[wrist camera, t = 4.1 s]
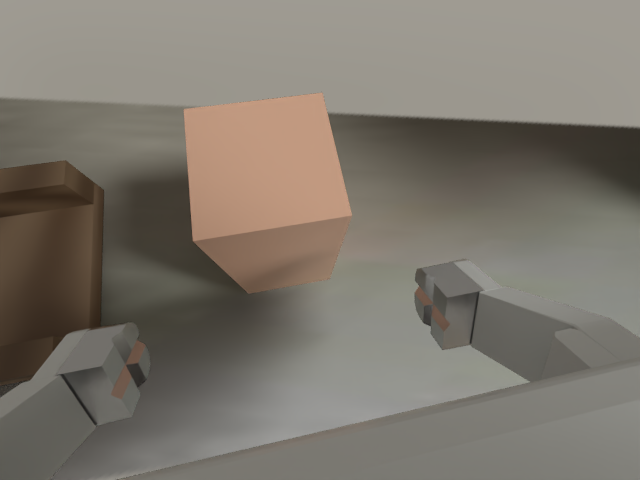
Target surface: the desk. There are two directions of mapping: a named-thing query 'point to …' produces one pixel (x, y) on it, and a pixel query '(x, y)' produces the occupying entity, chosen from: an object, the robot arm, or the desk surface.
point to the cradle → (46, 262)
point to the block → (267, 190)
